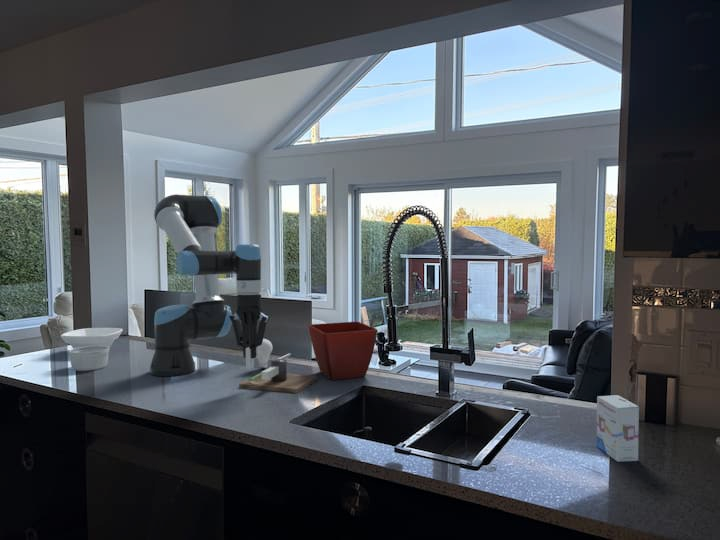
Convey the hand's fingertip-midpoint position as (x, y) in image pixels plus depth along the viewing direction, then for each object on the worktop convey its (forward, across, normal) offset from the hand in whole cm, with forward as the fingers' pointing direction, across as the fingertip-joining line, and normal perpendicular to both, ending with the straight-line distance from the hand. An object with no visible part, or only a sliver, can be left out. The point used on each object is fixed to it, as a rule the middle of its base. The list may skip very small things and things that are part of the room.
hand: (250, 368), depth 161 cm
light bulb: (+6, -8, +24) cm, 26 cm away
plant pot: (+7, +22, +25) cm, 34 cm away
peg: (+5, +6, +7) cm, 11 cm away
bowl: (+5, -90, +29) cm, 95 cm away
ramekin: (+6, -70, +7) cm, 70 cm away
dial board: (+6, +6, +8) cm, 12 cm away
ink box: (+8, +101, -21) cm, 104 cm away
